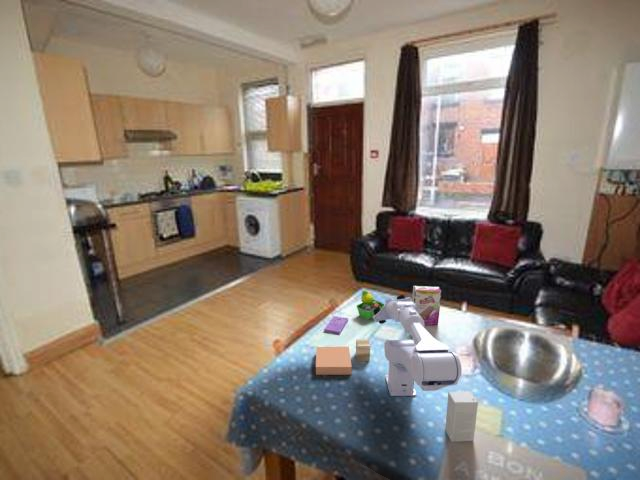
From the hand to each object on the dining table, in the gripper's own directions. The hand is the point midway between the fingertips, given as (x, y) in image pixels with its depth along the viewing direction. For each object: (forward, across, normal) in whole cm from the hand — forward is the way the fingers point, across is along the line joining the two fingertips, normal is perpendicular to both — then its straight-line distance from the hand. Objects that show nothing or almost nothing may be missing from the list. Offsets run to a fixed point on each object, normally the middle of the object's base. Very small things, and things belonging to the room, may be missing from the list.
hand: (387, 308), depth 122 cm
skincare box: (-30, +5, +33) cm, 45 cm away
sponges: (+24, +19, 0) cm, 31 cm away
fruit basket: (+32, +3, +3) cm, 33 cm away
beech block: (+3, +16, +12) cm, 20 cm away
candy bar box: (+24, -16, +16) cm, 33 cm away
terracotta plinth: (-1, +27, +8) cm, 28 cm away
